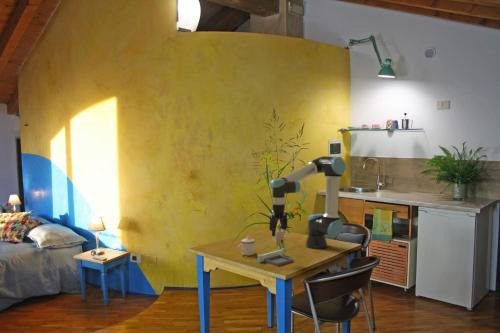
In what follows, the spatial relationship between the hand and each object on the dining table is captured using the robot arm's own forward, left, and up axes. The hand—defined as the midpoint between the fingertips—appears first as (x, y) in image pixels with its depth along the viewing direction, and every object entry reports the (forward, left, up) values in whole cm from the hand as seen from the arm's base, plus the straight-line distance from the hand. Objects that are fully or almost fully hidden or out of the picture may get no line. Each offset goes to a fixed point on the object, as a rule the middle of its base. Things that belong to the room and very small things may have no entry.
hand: (278, 240), depth 255 cm
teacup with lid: (+4, -26, -14) cm, 30 cm away
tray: (0, 0, -14) cm, 14 cm away
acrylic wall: (-1, -7, -14) cm, 16 cm away
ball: (0, 0, +3) cm, 3 cm away
